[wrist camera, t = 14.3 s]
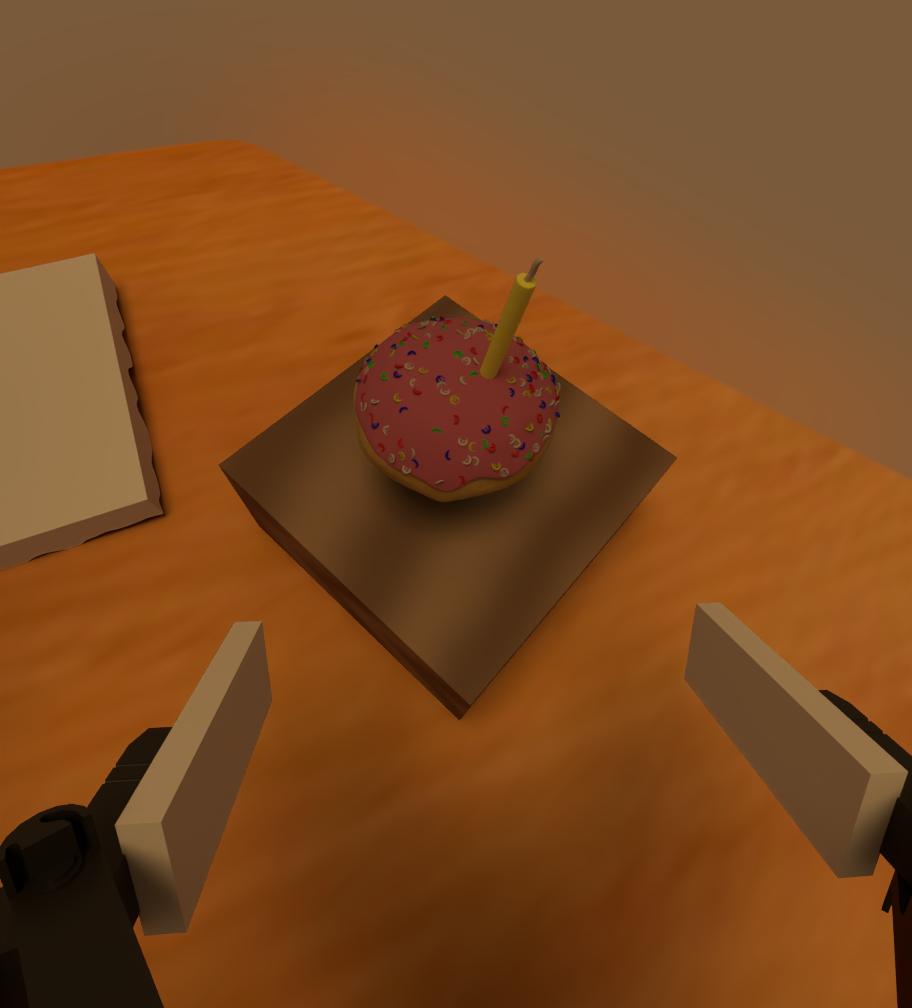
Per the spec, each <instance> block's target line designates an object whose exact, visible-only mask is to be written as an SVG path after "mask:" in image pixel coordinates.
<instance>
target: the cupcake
mask: <svg viewBox="0 0 912 1008" xmlns="http://www.w3.org/2000/svg"><path fill="white" fill-rule="evenodd" d="M542 262H543V258H541V257H539V258H537V259H536V260H535V261H534V262H533V264H532V266H531V269H530V271H529V272H528V273H521V274H519V275H518V276H517V277H516V279H515V282H514V284H513V287H512V290H511V292H510V295H509V297H508V300H507V302H506V305H505V307H504V310H503V312H502V315H501V318H500V320H499V323H498V324H494V323H493V322H491V323H492V324H490V322H489V321H488V320H482V321H481V320H479V319H477V318H473V319H469V318H445V317H444V316H440V318H441V319H435V317H430V318H429V319H428V320H426V321H421V322H416V323H412V324H405V325H403V326H402V327H400V328H399V329H396V330H394V332H395V333H394V334H393V335H391V336H390V337H389V338H387V339H386V340H385V341H383V342H382V343H381V344H380V345H379V346H378V345H375V347H374V350H372V352H371V354H370V356H369V358H366V359H365V360H364V366H363V367H361V369H360V371H359V376H358V378H357V380H356V381H355V382H356V384H355V388H354V394H353V406H354V414H355V420H356V426H357V431H358V437H359V443H360V447H361V449H362V451H363V452H364V454H365V455H366V457H367V458H368V460H369V461H370V462H371V463H372V464H373V465H374V466H375V467H376V468H377V469H379V470H380V471H381V472H383V473H384V474H385V475H387V476H388V477H389V478H391V479H393V480H394V481H396V482H398V483H400V484H402V485H404V486H406V487H408V488H410V489H412V490H414V491H416V492H418V493H420V494H423V495H425V496H427V497H429V498H431V499H433V500H436V501H439V502H451V501H456V500H463V499H468V498H471V497H476V496H481V495H485V494H488V493H492V492H495V491H499V490H502V489H504V488H507V487H509V486H511V485H513V484H515V483H517V482H519V481H520V480H522V479H523V478H525V477H526V476H527V475H528V474H530V473H531V472H532V471H533V470H534V469H535V467H536V466H537V465H538V463H539V462H540V460H541V459H542V457H543V456H544V454H545V452H546V450H547V448H548V447H549V445H550V442H551V440H552V437H553V434H554V430H555V427H556V423H557V418H558V417H560V414H559V412H558V409H559V403H560V401H559V397H560V396H559V395H558V391H559V390H560V383H557V384H556V385H555V376H554V375H553V374H551V372H550V369H549V367H548V364H547V363H543V362H541V360H540V357H537V355H536V352H535V350H531V349H530V348H529V347H528V346H526V345H525V344H524V343H523V339H522V338H521V337H520V336H516V337H515V336H514V334H515V332H516V330H517V327H518V325H519V323H520V321H521V318H522V316H523V314H524V312H525V309H526V307H527V305H528V302H529V300H530V298H531V296H532V293H533V291H534V289H535V286H536V280H535V278H534V275H535V273H536V272H537V269H538V267H539V265H540V264H541V263H542ZM519 339H521V340H519ZM376 347H377V348H376ZM375 348H376V349H375ZM365 362H366V363H365ZM546 366H547V367H546ZM551 377H552V378H553V379H552V378H551ZM558 386H559V388H558ZM557 388H558V389H557Z"/></svg>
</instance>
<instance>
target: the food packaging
mask: <svg viewBox="0 0 912 1008" xmlns="http://www.w3.org/2000/svg"><path fill="white" fill-rule="evenodd" d="M117 299H118V297H117V293H116V289H115V284H114V282H113V280H112V279H111V277H110V276H109V274H108V273H107V271H106V270H105V268H104V267H103V265H102V264H101V262H100V261H99V259H98V258H97V256H96V255H95V253H94V254H89V255H85V256H80V257H76V258H71V259H66V260H62V261H57V262H53V263H48V264H44V265H39V266H34V267H30V268H25V269H21V270H16V271H12V272H7V273H2V274H0V571H1V570H4V569H7V568H10V567H13V566H16V565H19V564H23V563H26V562H28V561H30V560H31V559H33V558H34V557H36V556H39V555H41V554H45V553H49V552H54V551H60V550H66V549H69V548H72V547H75V546H79V545H82V544H83V543H84V542H85V541H86V540H88V539H91V538H93V537H96V536H98V535H100V534H102V533H105V532H108V531H112V530H116V529H120V528H123V527H126V526H129V525H131V524H134V523H137V522H139V521H142V520H144V519H146V518H149V517H152V516H157V515H161V514H163V511H162V508H161V506H160V503H159V497H160V489H159V485H158V480H157V477H156V474H155V472H154V469H153V466H152V452H153V449H152V445H151V440H150V435H149V432H148V429H147V427H146V425H145V423H144V421H143V419H142V417H141V415H140V413H139V411H138V408H137V401H138V395H137V393H136V390H135V388H134V386H133V383H132V381H131V379H130V376H129V373H128V369H129V368H131V367H133V364H132V359H131V355H130V353H129V350H128V348H127V346H126V344H125V341H124V339H123V337H122V331H123V330H124V329H125V326H124V323H123V321H122V318H121V315H120V313H119V310H118V307H117V303H116V301H117Z"/></svg>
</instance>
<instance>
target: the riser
mask: <svg viewBox="0 0 912 1008" xmlns="http://www.w3.org/2000/svg"><path fill="white" fill-rule="evenodd" d="M440 316H444V317H445V318H469V319H473V318H477V317H476V316H474V315H473V314H471V313H470V312H468V311H467V310H466V309H464V308H463V307H461V306H460V305H458V304H457V303H456V302H454V301H453V300H451V299H450V298H448V297H447V296H446V295H445V296H444V297H442V298H441V299H440V300H438V301H437V302H436V303H434V304H433V305H432V306H430V307H429V308H428V309H426V310H425V311H424V312H422V313H421V314H420V315H418V316H417V317H416V318H414V319H413V320H412V321H410V322H409V323H408V324H412V323H416V322H421V321H426V320H428V319H429V318H430V317H435V319H441V318H440ZM477 319H478V318H477ZM479 320H480V319H479ZM378 346H379V345H378ZM376 348H377V347H376ZM376 348H375V349H376ZM373 350H374V349H373ZM371 352H372V351H370V352H369V353H368V354H366V355H365V356H364V357H362V358H361V359H360V360H358V361H357V362H356V363H354V364H353V365H352V366H350V367H349V368H348V369H346V370H345V371H344V372H342V373H341V374H340V375H338V376H337V377H336V378H334V379H333V380H332V381H330V382H329V383H328V384H326V385H325V386H324V387H322V388H321V389H320V390H318V391H317V392H316V393H314V394H313V395H312V396H310V397H309V398H308V399H306V400H305V401H304V402H302V403H301V404H300V405H298V406H297V407H296V408H294V409H293V410H292V411H290V412H289V413H288V414H286V415H285V416H284V417H282V418H281V419H280V420H278V421H277V422H276V423H274V424H273V425H272V426H270V427H269V428H268V429H266V430H265V431H264V432H262V433H261V434H260V435H258V436H257V437H256V438H254V439H253V440H252V441H250V442H249V443H247V444H246V445H245V446H243V447H242V448H241V449H239V450H238V451H237V452H235V453H234V454H233V455H231V456H230V457H229V458H227V459H226V460H225V461H223V462H222V463H221V464H219V466H220V468H221V469H222V471H223V472H224V474H225V475H226V477H227V478H228V480H229V481H230V483H231V484H232V486H233V487H234V489H235V490H236V492H237V493H238V495H239V496H240V498H241V499H242V501H243V502H244V504H245V505H246V507H247V508H248V510H249V511H250V513H251V514H252V516H253V517H254V519H255V520H256V522H257V523H258V525H259V526H260V527H261V528H262V529H263V530H264V531H265V532H266V533H267V534H268V535H269V536H270V537H271V538H272V539H273V540H274V541H275V542H276V543H278V544H279V545H280V546H281V547H282V548H283V549H284V550H285V551H286V552H287V553H288V554H289V555H290V556H291V557H292V558H293V559H294V560H295V561H296V562H297V563H298V564H299V565H300V566H301V567H302V568H303V569H304V570H305V571H306V572H307V573H308V574H309V575H310V576H311V577H313V578H314V579H315V580H316V581H317V582H318V583H319V584H320V585H321V586H322V587H323V588H324V589H325V590H326V591H327V592H328V593H329V594H330V595H331V596H332V597H333V598H334V599H335V600H336V601H337V602H338V603H339V604H340V605H341V606H342V607H343V608H344V609H345V610H346V611H348V612H349V613H350V614H351V615H352V616H353V617H354V618H355V619H356V620H357V621H358V622H359V623H360V624H361V625H362V626H363V627H364V628H365V629H366V630H367V631H368V632H369V633H370V634H371V635H372V636H373V637H374V638H375V639H376V640H377V641H378V642H379V643H380V644H381V645H383V646H384V647H385V648H386V649H387V650H388V651H389V652H390V653H391V654H392V655H393V656H394V657H395V658H396V659H397V660H398V661H399V662H400V663H401V664H402V665H403V666H404V667H405V668H406V669H407V670H408V671H409V672H410V673H411V674H412V675H413V676H414V677H415V678H416V679H418V680H419V681H420V682H421V683H422V684H423V685H424V686H425V687H426V688H427V689H428V690H429V691H430V692H431V693H432V694H433V695H434V696H435V697H436V698H437V699H438V700H439V701H440V702H441V703H442V704H443V705H444V706H445V707H446V708H447V709H448V710H449V711H450V712H451V713H453V714H454V715H455V716H456V717H457V718H458V719H459V720H460V719H461V717H462V716H463V715H464V714H465V713H466V711H467V710H468V709H469V708H470V707H471V705H472V704H473V703H474V702H475V701H476V699H477V698H478V697H479V696H480V695H481V693H482V692H483V691H484V690H485V689H486V687H487V686H488V685H489V684H490V683H491V681H492V680H493V679H494V678H495V677H496V675H497V674H498V673H499V672H500V671H501V669H502V668H503V667H504V666H505V665H506V663H507V662H508V661H509V660H510V659H511V657H512V656H513V655H514V654H515V653H516V651H517V650H518V649H519V648H520V647H521V646H522V644H523V643H524V642H525V641H526V640H527V638H528V637H529V636H530V635H531V634H532V632H533V631H534V630H535V629H536V628H537V626H538V625H539V624H540V623H541V622H542V620H543V619H544V618H545V617H546V616H547V614H548V613H549V612H550V611H551V610H552V608H553V607H554V606H555V605H556V604H557V602H558V601H559V600H560V599H561V598H562V596H563V595H564V594H565V593H566V592H567V590H568V589H569V588H570V587H571V586H572V584H573V583H574V582H575V581H576V580H577V578H578V577H579V576H580V575H581V574H582V572H583V571H584V570H585V569H586V568H587V566H588V565H589V564H590V563H591V562H592V560H593V559H594V558H595V557H596V556H597V555H598V553H599V552H600V551H601V550H602V549H603V547H604V546H605V545H606V544H607V543H608V541H609V540H610V539H611V538H612V537H613V535H614V534H615V533H616V532H617V531H618V529H619V528H620V527H621V526H622V525H623V523H624V522H625V521H626V520H627V519H628V517H629V516H630V515H631V514H632V513H633V511H634V510H635V509H636V508H637V506H638V505H639V504H640V503H641V502H642V500H643V499H644V498H645V497H646V495H647V494H648V493H649V492H650V491H651V489H652V488H653V487H654V486H655V484H656V483H657V482H658V481H659V480H660V478H661V477H662V476H663V475H664V473H665V472H666V471H667V470H668V469H669V467H670V466H671V465H672V464H673V463H674V461H675V460H676V459H677V457H675V456H674V455H673V454H671V453H670V452H668V451H667V450H665V449H664V448H663V447H661V446H660V445H658V444H657V443H655V442H654V441H653V440H651V439H650V438H648V437H647V436H646V435H644V434H643V433H641V432H640V431H638V430H637V429H636V428H634V427H633V426H631V425H630V424H628V423H627V422H626V421H624V420H623V419H621V418H620V417H618V416H617V415H616V414H614V413H613V412H611V411H610V410H608V409H607V408H606V407H604V406H603V405H601V404H600V403H598V402H597V401H596V400H594V399H593V398H591V397H590V396H588V395H587V394H586V393H584V392H583V391H581V390H580V389H578V388H577V387H576V386H574V385H573V384H571V383H570V382H568V381H567V380H566V379H564V378H563V377H561V376H560V375H558V374H557V373H556V372H554V371H553V370H551V369H550V368H549V369H550V372H551V374H553V375H554V376H555V385H556V384H557V383H560V390H559V391H558V395H559V396H560V397H559V401H560V403H559V409H558V412H559V414H560V417H558V418H557V423H556V427H555V430H554V434H553V437H552V440H551V442H550V445H549V447H548V448H547V450H546V452H545V454H544V456H543V457H542V459H541V460H540V462H539V463H538V465H537V466H536V467H535V469H534V470H533V471H532V472H531V473H530V474H528V475H527V476H526V477H525V478H523V479H522V480H520V481H519V482H517V483H515V484H513V485H511V486H509V487H507V488H504V489H502V490H499V491H495V492H492V493H488V494H485V495H481V496H476V497H471V498H468V499H463V500H456V501H451V502H439V501H436V500H433V499H431V498H429V497H427V496H425V495H423V494H420V493H418V492H416V491H414V490H412V489H410V488H408V487H406V486H404V485H402V484H400V483H398V482H396V481H394V480H393V479H391V478H389V477H388V476H387V475H385V474H384V473H383V472H381V471H380V470H379V469H377V468H376V467H375V466H374V465H373V464H372V463H371V462H370V461H369V460H368V458H367V457H366V455H365V454H364V452H363V451H362V449H361V447H360V443H359V437H358V431H357V426H356V420H355V414H354V406H353V394H354V388H355V384H356V382H355V381H356V380H357V378H358V376H359V371H360V369H361V367H363V366H364V360H365V359H366V358H369V356H370V354H371ZM365 363H366V362H365ZM546 367H547V366H546ZM551 378H552V377H551ZM552 379H553V378H552ZM558 388H559V386H558ZM558 388H557V389H558Z"/></svg>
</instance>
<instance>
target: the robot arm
mask: <svg viewBox="0 0 912 1008" xmlns="http://www.w3.org/2000/svg"><path fill="white" fill-rule="evenodd" d="M684 679H685V680H686V682H687V683H688V684H689V685H690V687H691V688H692V689H693V691H694V692H695V693H696V695H697V696H698V697H699V698H700V700H701V701H702V702H703V704H704V705H705V706H706V708H707V709H708V710H709V711H710V713H711V714H712V715H713V717H714V718H715V719H716V720H717V722H718V723H719V724H720V726H721V727H722V728H723V730H724V731H725V732H726V733H727V735H728V736H729V737H730V739H731V740H732V741H733V743H734V744H735V745H736V746H737V748H738V749H739V750H740V752H741V753H742V754H743V755H744V757H745V758H746V759H747V761H748V762H749V763H750V765H751V766H752V767H753V768H754V770H755V771H756V772H757V774H758V775H759V776H760V778H761V779H762V780H763V781H764V783H765V784H766V785H767V787H768V788H769V789H770V790H771V792H772V793H773V794H774V796H775V797H776V798H777V800H778V801H779V802H780V803H781V805H782V806H783V807H784V809H785V810H786V811H787V813H788V814H789V815H790V816H791V818H792V819H793V820H794V822H795V823H796V824H797V825H798V827H799V828H800V829H801V831H802V832H803V833H804V835H805V836H806V837H807V838H808V840H809V841H810V842H811V844H812V845H813V846H814V848H815V849H816V850H817V851H818V853H819V854H820V855H821V857H822V858H823V859H824V860H825V862H826V863H827V864H828V866H829V867H830V868H831V870H832V871H833V872H834V873H835V875H836V876H837V877H838V878H846V877H858V876H870V875H873V873H874V870H875V867H876V864H877V861H878V858H879V855H880V853H881V854H882V855H883V856H884V858H885V859H886V860H887V861H888V862H889V863H890V864H891V865H892V867H893V868H894V869H895V872H894V875H893V878H892V880H891V883H890V886H889V889H888V891H887V894H886V897H885V900H884V903H883V906H882V909H881V910H883V911H885V912H887V913H888V912H889V909H890V907H891V905H892V912H893V931H894V949H895V968H896V986H897V1004H898V1008H912V756H911V755H910V754H909V753H907V752H906V751H905V750H904V749H903V748H902V747H900V746H899V745H898V744H897V743H896V742H895V741H894V740H892V739H891V738H890V737H889V736H888V735H887V734H883V732H882V730H881V729H880V728H878V727H877V726H876V725H875V724H874V723H873V722H871V721H870V722H869V721H868V718H867V717H866V716H865V715H863V714H862V713H861V712H860V711H859V710H858V709H856V708H855V707H854V706H853V705H852V704H851V703H849V702H847V701H846V700H844V699H842V698H840V697H838V696H837V695H835V694H833V693H831V692H830V691H828V690H817V689H816V688H815V687H814V686H812V685H811V684H810V683H809V682H808V681H807V680H806V679H805V678H804V677H802V676H801V675H800V674H799V673H798V672H797V671H796V670H795V669H794V668H792V667H791V666H790V665H789V664H788V663H787V662H786V661H785V660H784V659H782V658H781V657H780V656H779V655H778V654H777V653H776V652H775V651H774V650H772V649H771V648H770V647H769V646H768V645H767V644H766V643H765V642H764V641H762V640H761V639H760V638H759V637H758V636H757V635H756V634H755V633H754V632H752V631H751V630H750V629H749V628H748V627H747V626H746V625H745V624H743V623H742V622H741V621H740V620H739V619H738V618H737V617H736V616H735V615H733V614H732V613H731V612H730V611H729V610H728V609H727V608H726V607H725V606H723V605H722V604H721V603H696V609H695V615H694V621H693V627H692V634H691V640H690V646H689V652H688V658H687V664H686V670H685V677H684ZM271 702H272V694H271V687H270V679H269V671H268V664H267V656H266V648H265V641H264V633H263V626H262V621H249V622H235V623H234V624H233V626H232V628H231V629H230V631H229V633H228V634H227V636H226V638H225V640H224V641H223V643H222V645H221V646H220V648H219V650H218V651H217V653H216V655H215V656H214V658H213V660H212V662H211V663H210V665H209V667H208V668H207V670H206V672H205V673H204V675H203V677H202V678H201V680H200V682H199V683H198V685H197V687H196V689H195V690H194V692H193V694H192V695H191V697H190V699H189V700H188V702H187V704H186V705H185V707H184V709H183V711H182V712H181V714H180V716H179V717H178V719H177V721H176V722H175V724H174V726H173V727H161V728H149V729H147V730H146V731H145V732H144V733H143V734H141V735H140V736H139V737H138V738H137V739H135V740H134V741H133V742H132V743H131V744H129V745H128V747H127V748H126V750H125V751H124V753H123V754H122V756H121V757H120V759H119V760H118V762H117V763H116V767H115V768H113V769H112V771H111V772H110V774H109V775H108V777H107V778H106V780H105V784H102V786H101V787H100V789H99V790H98V792H97V793H96V795H95V796H94V798H93V799H92V801H91V802H90V804H89V805H88V807H87V808H86V807H85V806H81V805H76V804H68V805H61V806H56V807H53V808H50V809H48V810H45V811H43V812H40V813H38V814H36V815H34V816H33V817H31V818H30V819H28V820H26V821H25V822H23V823H21V824H20V825H19V826H18V827H17V828H16V829H15V830H14V831H12V832H11V833H10V834H9V835H8V836H7V837H6V838H5V840H4V841H3V843H2V844H1V846H0V879H1V882H2V884H3V887H1V888H0V1008H164V1007H163V1004H162V1001H161V999H160V996H159V994H158V991H157V989H156V986H155V984H154V981H153V979H152V976H151V973H150V971H149V968H148V966H147V963H146V961H145V958H144V956H143V953H142V950H141V948H140V945H139V943H138V940H137V938H136V935H135V933H134V930H133V926H134V924H135V922H136V920H137V918H138V916H139V917H140V921H141V925H142V928H143V932H144V936H145V935H157V934H169V933H181V932H187V929H188V927H189V924H190V921H191V918H192V916H193V913H194V910H195V908H196V905H197V902H198V899H199V897H200V894H201V891H202V889H203V886H204V883H205V880H206V878H207V875H208V872H209V870H210V867H211V864H212V862H213V859H214V856H215V853H216V851H217V848H218V845H219V843H220V840H221V837H222V834H223V832H224V829H225V826H226V824H227V821H228V818H229V815H230V813H231V810H232V807H233V805H234V802H235V799H236V797H237V794H238V791H239V788H240V786H241V783H242V780H243V778H244V775H245V772H246V769H247V767H248V764H249V761H250V759H251V756H252V753H253V750H254V748H255V745H256V742H257V740H258V737H259V734H260V732H261V729H262V726H263V723H264V721H265V718H266V715H267V713H268V710H269V707H270V704H271Z"/></svg>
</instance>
